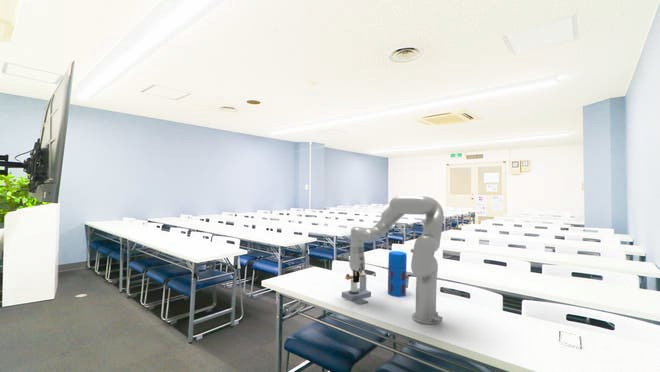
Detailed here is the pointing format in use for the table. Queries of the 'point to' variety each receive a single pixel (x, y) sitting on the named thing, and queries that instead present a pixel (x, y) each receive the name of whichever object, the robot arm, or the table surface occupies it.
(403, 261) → the thermos
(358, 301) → the pad
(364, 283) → the outlet block
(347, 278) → the clip
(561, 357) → the table surface
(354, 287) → the plug
